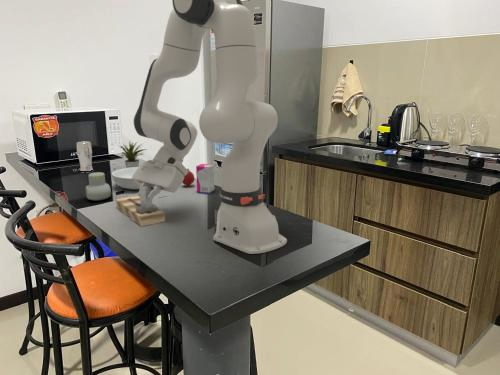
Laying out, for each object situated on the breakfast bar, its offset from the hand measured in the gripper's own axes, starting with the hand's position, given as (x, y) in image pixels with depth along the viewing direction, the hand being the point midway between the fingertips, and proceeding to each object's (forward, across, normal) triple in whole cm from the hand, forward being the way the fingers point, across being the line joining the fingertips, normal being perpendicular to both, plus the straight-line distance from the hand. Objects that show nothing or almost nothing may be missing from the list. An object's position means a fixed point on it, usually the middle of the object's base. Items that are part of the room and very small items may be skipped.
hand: (144, 197), depth 124 cm
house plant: (-21, -62, +32) cm, 73 cm away
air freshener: (+3, -34, +8) cm, 36 cm away
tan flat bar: (+4, -7, +7) cm, 11 cm away
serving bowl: (-11, -37, +23) cm, 45 cm away
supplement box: (-21, -9, +32) cm, 39 cm away
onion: (-21, -21, +33) cm, 44 cm away
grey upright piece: (+3, 0, +4) cm, 5 cm away
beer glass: (-13, -83, +24) cm, 88 cm away
